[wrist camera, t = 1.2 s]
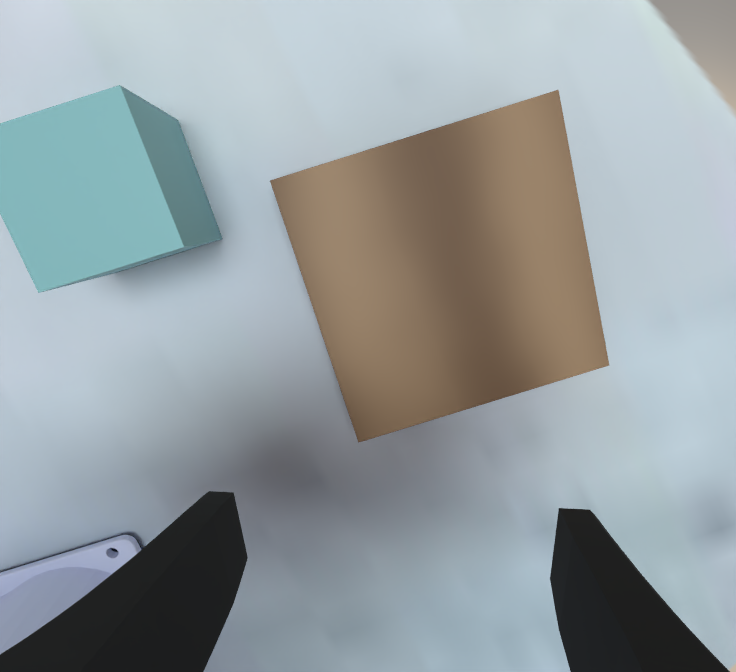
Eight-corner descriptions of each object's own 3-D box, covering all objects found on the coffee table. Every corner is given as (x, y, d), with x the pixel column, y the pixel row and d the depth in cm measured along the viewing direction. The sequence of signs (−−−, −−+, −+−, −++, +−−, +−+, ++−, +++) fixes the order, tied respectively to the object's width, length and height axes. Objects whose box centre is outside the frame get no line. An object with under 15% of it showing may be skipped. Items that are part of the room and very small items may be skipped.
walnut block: (355, 412, 22) (358, 442, 19) (280, 186, 19) (270, 180, 16) (572, 345, 21) (609, 365, 19) (524, 109, 19) (558, 89, 16)
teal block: (114, 273, 19) (38, 292, 14) (63, 157, 18) (-38, 135, 13) (222, 238, 19) (183, 247, 14) (178, 120, 18) (119, 85, 13)
